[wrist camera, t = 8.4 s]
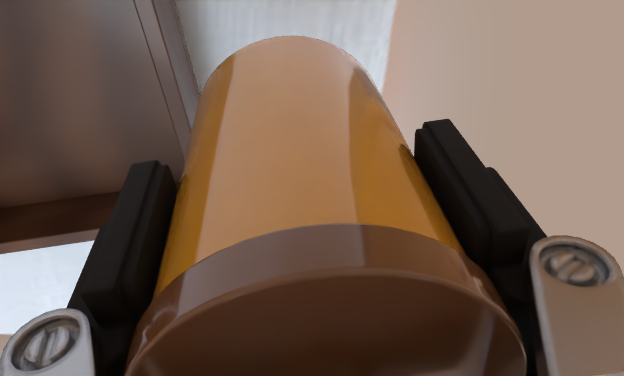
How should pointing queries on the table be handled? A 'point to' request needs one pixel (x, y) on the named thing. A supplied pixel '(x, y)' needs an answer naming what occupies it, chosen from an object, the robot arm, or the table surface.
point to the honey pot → (313, 238)
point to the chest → (85, 111)
